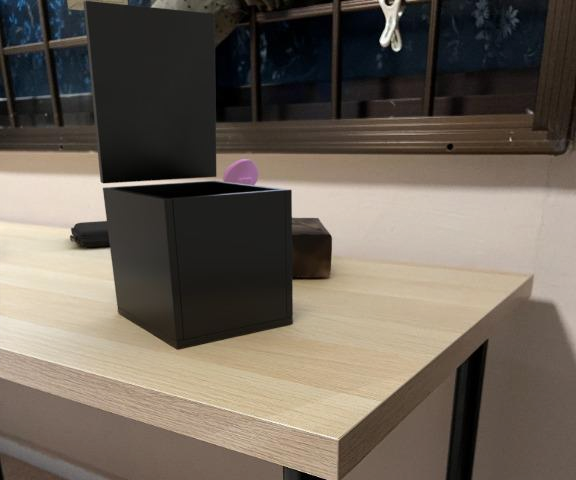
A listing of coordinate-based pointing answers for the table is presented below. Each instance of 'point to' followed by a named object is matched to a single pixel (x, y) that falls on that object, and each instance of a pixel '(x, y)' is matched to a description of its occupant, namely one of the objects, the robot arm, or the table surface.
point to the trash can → (201, 258)
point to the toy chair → (241, 172)
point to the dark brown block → (310, 248)
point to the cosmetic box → (77, 3)
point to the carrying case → (91, 234)
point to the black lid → (152, 91)
